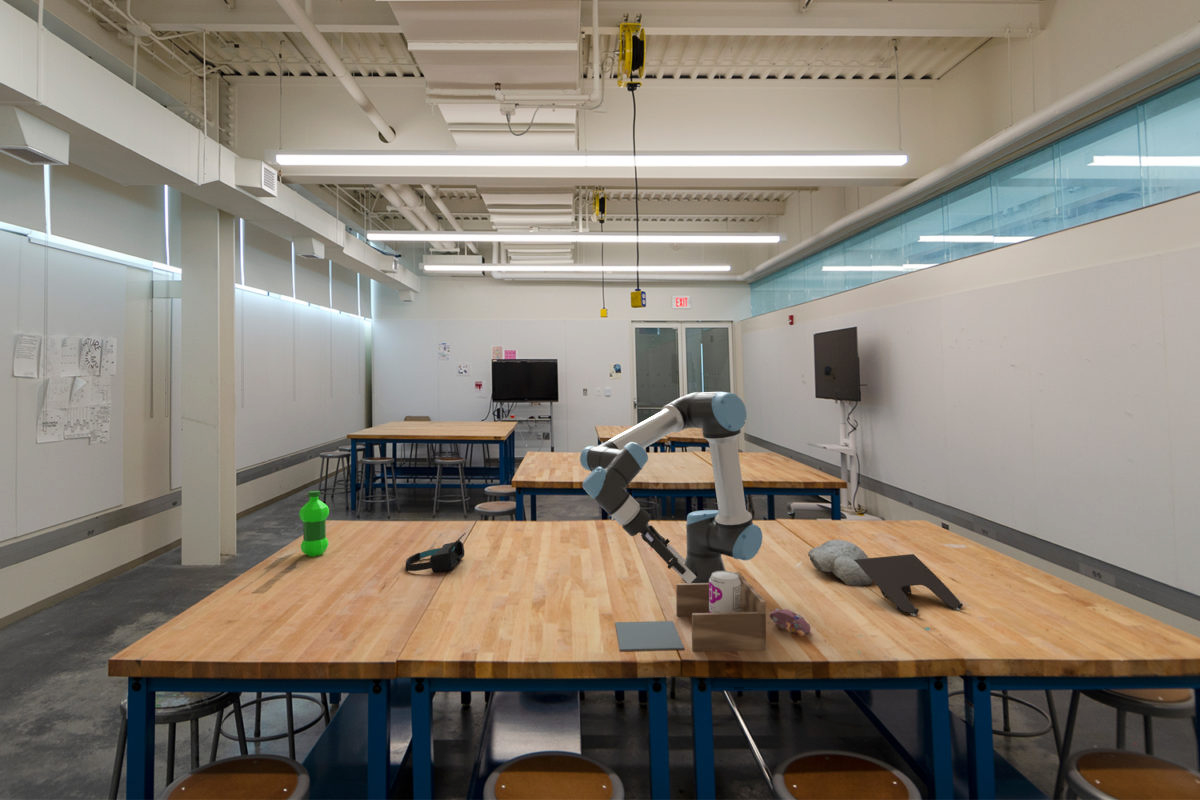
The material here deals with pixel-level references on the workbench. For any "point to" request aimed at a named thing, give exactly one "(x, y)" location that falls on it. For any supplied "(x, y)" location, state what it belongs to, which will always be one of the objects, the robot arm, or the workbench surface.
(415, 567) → the virtual reality headset
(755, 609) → the wooden u-shaped enclosure
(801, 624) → the video game controller
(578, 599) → the workbench surface
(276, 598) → the workbench surface
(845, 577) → the grey rock
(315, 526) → the plastic bottle
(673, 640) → the mat
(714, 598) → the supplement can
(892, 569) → the portable electronic device stand
